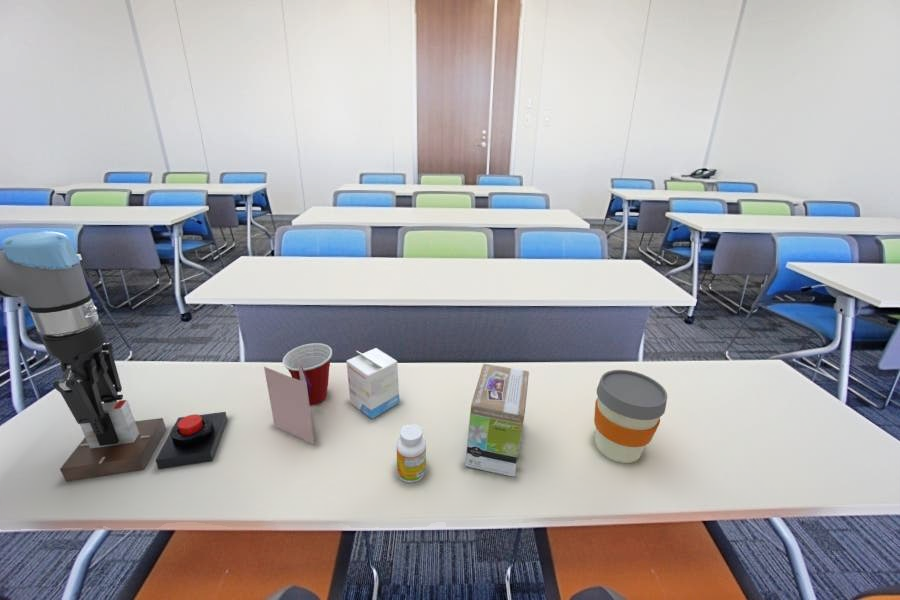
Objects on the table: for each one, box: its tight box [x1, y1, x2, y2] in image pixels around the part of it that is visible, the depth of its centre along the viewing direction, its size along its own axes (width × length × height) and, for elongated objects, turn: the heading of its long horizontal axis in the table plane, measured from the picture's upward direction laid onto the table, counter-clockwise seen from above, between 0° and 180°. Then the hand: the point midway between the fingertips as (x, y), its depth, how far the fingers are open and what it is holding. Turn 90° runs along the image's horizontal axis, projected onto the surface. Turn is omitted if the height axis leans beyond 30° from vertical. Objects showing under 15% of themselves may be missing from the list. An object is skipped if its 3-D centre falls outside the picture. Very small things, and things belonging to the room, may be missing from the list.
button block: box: [155, 411, 228, 470], centre depth 79 cm, size 9×12×4 cm
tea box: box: [464, 363, 530, 478], centre depth 79 cm, size 15×10×15 cm, turn 167°
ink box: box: [346, 347, 400, 420], centre depth 90 cm, size 9×8×13 cm
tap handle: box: [79, 399, 139, 448], centre depth 74 cm, size 7×2×8 cm, turn 105°
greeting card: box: [263, 356, 315, 446], centre depth 81 cm, size 11×7×15 cm, turn 28°
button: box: [178, 414, 203, 435], centre depth 78 cm, size 4×4×2 cm
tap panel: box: [59, 417, 167, 482], centre depth 76 cm, size 12×11×3 cm
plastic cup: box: [282, 342, 333, 406], centre depth 92 cm, size 11×11×12 cm
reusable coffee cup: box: [593, 369, 668, 464], centre depth 80 cm, size 13×13×15 cm
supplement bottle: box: [395, 423, 427, 483], centre depth 73 cm, size 5×5×10 cm
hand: (113, 437), depth 75 cm, fingers open, 3 cm apart
